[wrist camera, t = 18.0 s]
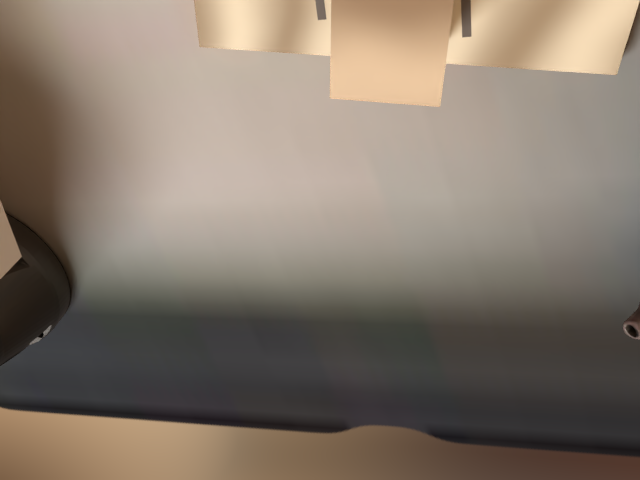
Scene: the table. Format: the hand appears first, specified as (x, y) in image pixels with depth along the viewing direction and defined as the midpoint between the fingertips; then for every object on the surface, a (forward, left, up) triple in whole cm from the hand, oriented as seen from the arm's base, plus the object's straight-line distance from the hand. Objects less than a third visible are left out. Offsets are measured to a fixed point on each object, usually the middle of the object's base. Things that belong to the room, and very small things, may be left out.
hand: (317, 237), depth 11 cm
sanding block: (0, 0, -25) cm, 25 cm away
